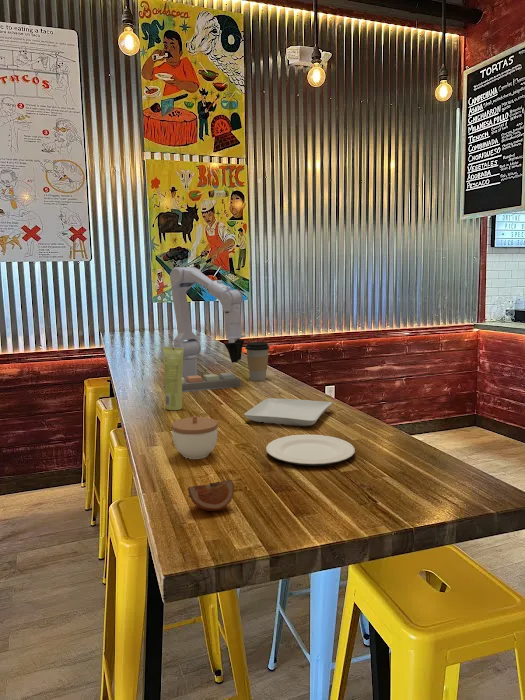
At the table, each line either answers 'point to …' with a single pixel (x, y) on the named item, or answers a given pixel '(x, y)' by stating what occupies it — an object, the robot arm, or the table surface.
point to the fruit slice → (212, 495)
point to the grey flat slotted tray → (210, 385)
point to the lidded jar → (195, 436)
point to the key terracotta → (193, 379)
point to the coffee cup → (257, 360)
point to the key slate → (227, 376)
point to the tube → (173, 377)
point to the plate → (310, 450)
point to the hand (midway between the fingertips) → (236, 361)
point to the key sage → (210, 377)
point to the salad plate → (288, 411)
